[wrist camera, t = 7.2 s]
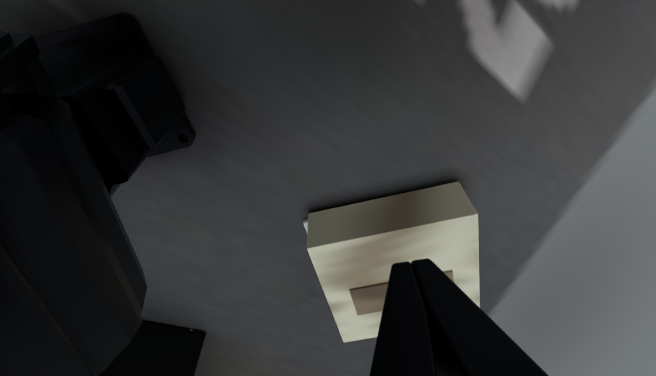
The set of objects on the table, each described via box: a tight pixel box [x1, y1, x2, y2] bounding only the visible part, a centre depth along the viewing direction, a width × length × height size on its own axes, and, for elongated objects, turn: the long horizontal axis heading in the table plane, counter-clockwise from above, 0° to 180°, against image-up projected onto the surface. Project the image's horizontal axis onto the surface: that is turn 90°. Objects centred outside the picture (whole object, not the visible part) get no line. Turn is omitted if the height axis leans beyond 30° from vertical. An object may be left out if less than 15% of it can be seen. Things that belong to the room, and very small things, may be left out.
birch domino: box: [307, 181, 480, 342], centre depth 22 cm, size 9×3×9 cm
